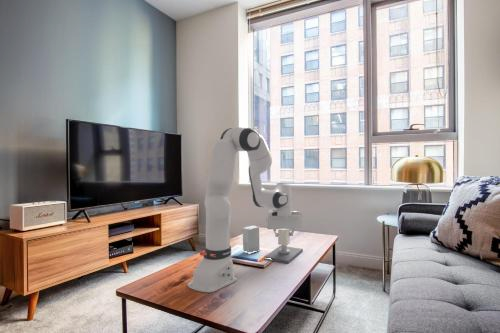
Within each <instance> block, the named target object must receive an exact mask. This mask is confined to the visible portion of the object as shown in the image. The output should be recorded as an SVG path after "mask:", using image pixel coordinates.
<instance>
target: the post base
mask: <svg viewBox="0 0 500 333" xmlns="http://www.w3.org/2000/svg"><path fill="white" fill-rule="evenodd" d="M302 252H304V250H303V248H299V247H292V246H288V245H287V246H285V245H279V246H278V247H276V248H275V249H273V250H271V251H270V252H269V253H267V254H266V255H264V257H266V258H271V259H272V260H273V261H272V262H277V263H282V264H290V263H291V262H292V261H294V260H295V259H296V258H297V257H298V256H299V255H300V254H301V253H302ZM264 257H263V258H264Z"/></svg>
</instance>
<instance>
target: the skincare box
mask: <svg viewBox="0 0 500 333" xmlns="http://www.w3.org/2000/svg"><path fill="white" fill-rule="evenodd" d="M243 250H244V251H247V252H253V251H258V250H259V251H260V227H259V226H256V225H250V226H245V227H242V251H243Z"/></svg>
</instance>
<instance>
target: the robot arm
mask: <svg viewBox="0 0 500 333" xmlns="http://www.w3.org/2000/svg"><path fill="white" fill-rule="evenodd" d="M238 152H246V154H247V157H248V160H249V167H248V175H249V180H250V186H251V191H252V201H253V204H254V206H256V207H258V208H269V210H267V216H266V220H265V228H266V229H267V230H272V231H273V232H274V237H275V238H278V232H276V231H277V230H280V229H291V230H290V237H293V236H294V232H295V230H296V229H301V228H302V226H303V223H302V218H303V214H302V212H301V211H299V210H298V211H295V210H294V211H293V207H292V206H293V205H292V200H293V199H292V196H293V194H292V188H291V185H290V184H289V183H286V182H285V183H284V182H278V183H276V187H275V188H273V189H266V188H264V186H263V185H262V179H261V174H263V173H265V172H267V171H268V170H269V169H270V168H271V166H272V163H273V159H272V158H273V157H272V155H271V151H270V149H269V146H268V143H267V141H266V140H265V137H264V136H263V135H261V134H259V133H258V131H257V130H255V129H254V128H250V127H233V128H232V127H231V128H227V129H225V130H224V131H223V132H222V134H221V135H220V138H219V139H218V140H216V141H215V142H214V144H213V147H212V151H211V155H210V162H209V170H208V178H207V184H206V190H205V197H204V207H205V247H204V250H200V251H199V256H202V259H201V260H200V262H199V263H198V264H197V266H196V267H195V269H194V271H193V275H192V277H193V278H191V280H190V281H189V282H187V287H188V288H189V289H192V290H193V291H198V292H201V293H214V292H216V291H218V290H221V289H223V288H225V287H227V286H228V285H231V284H233V283H236V281H237V278H236V277H235V272H234V271H235V270H234V269H235V268H234V263H233V259H232V257H231V255H232V246H231V232H230V231H231V230H230V229H231V221H232V220H231V219H232V218H231V217H232V203H231V202H230V200H229V197H230V192H231V187H232V183H233V179H234V171H235V170H234V169H235V163H236V162H235V161H236V154H237V153H238Z"/></svg>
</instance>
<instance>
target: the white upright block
mask: <svg viewBox="0 0 500 333" xmlns="http://www.w3.org/2000/svg"><path fill="white" fill-rule="evenodd" d="M290 232H291V229H290V228H287V229H277V233H278V237H277V244H278V245H279V246H281V245H285V246H287V247H288V245H289V244H291V236H290Z"/></svg>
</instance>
